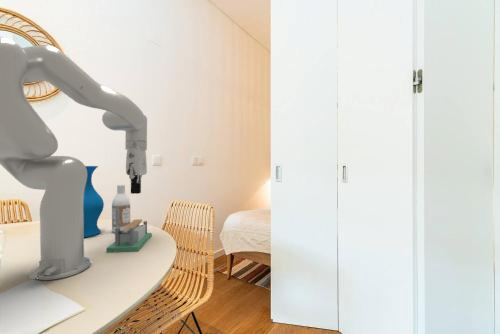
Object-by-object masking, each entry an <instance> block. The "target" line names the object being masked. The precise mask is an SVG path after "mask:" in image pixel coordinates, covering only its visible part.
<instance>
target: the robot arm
mask: <svg viewBox="0 0 500 334" xmlns="http://www.w3.org/2000/svg"><path fill="white" fill-rule="evenodd" d="M38 82H47V83H48V84H50V85H51V86H53V87H54V88H56V89H57V90H59V91H60V92H62V93H63V94H64V95H66V97H68V98H69V99H72V100H73V101H74V102H76V103H77V104H79V105H82V106H85V107H88V108H92V109H97V110H101V111H102V110H103V111H105V112H103V114H102V119H101V120H102V124H103V125H104V127H106V128H107V129H109V130H112V131H124V132H125V142H124V143H125V147H124V148H125V150H126V157H125V159H126V160H125V172H126V173H125V174H126V175H128V176H129V180H130V194H133V195H134V194H136V195H138V194H141V193H142V177H143V176H145V175H147V173H148V165H147V152H146V151H147V150H148V117H147V116H146V115H145V114H144V112H143V111H142V110H141V108H140V107H138V105H137V104H136V103H135V102H133V101H132V99H130V98H129V97H127V96H126V95H124V94H122V93H120V92H118V91H116V90H114V89H111V88H110V87H107V86H105V85H103V84H101V83H99V82H98V81H96V80H94V78H93V77H91V76H90V75H89V73H87V72H85V71H84V70H83V68H81V67H80V66H79V65H78V64H77V63H75V61H73V60H72V59H71V58H70V57H69V56H67V55H66V54H65V53H64V52H63V51H61V50H60V49H59V48H57V47H55V46H52V45H51V44H50V45H49V44H38V45H31V46H25V47H22V46H21V45H20V44H19V43H17V42H16V41H14V40H12V39H10V38H8V37H4V36H0V166H2V168H4V169H5V170H6V171H7V173H9V174H10V175H11V176H12V177H13V178H14V179H16V180H17V181H18V182H19V183H20V184H22V185H23V186H24V187H26V188H29V189H32V190H41V191H44V193H43V196H42V197H41V198H42V199H41V201H40V204H39V205H40V206H39V218H40V219H39V226H40V227H39V229H40V230H39V231H40V232H39V233H40V235H39V236H40V260H39V261H38V266H37V267H36V268H35V269H33V270H32V271H30V272H29V273H28V277H29V279H30V280H35V278H38V279H39V280H38V279H37V280H38V281H51V280H52V281H53V280H58V279H59V280H60V279H65V278H67V277H68V278H69V277H71V276H74V275H77V274H80V273H81V272H84V271H85V270H87V269H88V268H89V267H90V266H91V264H92V263H91V259H90V258H89V257H85V237H84V212H83V200H84V190H85V185H86V181H87V169H86V167H85V166H86V165H85V164H84V162H83V161H81V160H80V159H78V158H75V157H74V156H68V155H67V156H66V155H54V154H55V153H56V152H57V150H58V148H59V142H58V139H57V137H56V136H55V134H54V133H53V131H52V130H51V128H50V127H49V126H48V125H47V124H46V122H45V121H44V120H43V119H42V117H40V115H39V114H38V112H37V111H36V110H35V109H34V107H33V106H32V104H31V103H30V102H29V101H28V98H27V97H26V94H25V90H24V84H25V83H38Z"/></svg>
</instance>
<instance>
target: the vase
mask: <svg viewBox="0 0 500 334" xmlns="http://www.w3.org/2000/svg"><path fill="white" fill-rule="evenodd" d="M85 167H86V169H87V181H86V185H85V190H84V200H83V212H84V238H89V237H90V238H91V237H94V236H97V235H100V233H101V232H102V231H101V229H100V228H99V227H98V221H99V218H100V217H101V214H102V213H103V210H104V207H105V205H104V204H105V203H104V200H103V198H102V196H101V195H100V193H99V192H97V190H96V189H95V188H94V186H93V183H92V178H93V174H94V172H95V170H96V169H97V168H99V166H98V165H85Z"/></svg>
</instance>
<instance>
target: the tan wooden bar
mask: <svg viewBox="0 0 500 334" xmlns="http://www.w3.org/2000/svg"><path fill="white" fill-rule="evenodd" d="M142 222H143V219H133V220H132V221H130V223H129V224H128V225H127V226H126V227H125V228H123V229H122V230H121V231H119V234H129V228H131V227H134V229H135V228H136V227H137V226H138V225H141V223H142Z"/></svg>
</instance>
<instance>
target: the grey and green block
mask: <svg viewBox="0 0 500 334" xmlns="http://www.w3.org/2000/svg"><path fill="white" fill-rule="evenodd" d="M142 222H143V224H139V225H138V226H137V227H136V228H135V229H134V227H131V228H129V234H119V231H121V230H122V229H123V228H125V227H126V226H127V225H126V226H125V227H123V228H122V229H120V227H118V228H116V229H115V233H114V241H113V242H112V243H111V244H110V245H109V246H107V247H106V253H129V252H131V253H133V252H140V250H141V249H142V248H143V247H144V245H145V244H147V242H148V241H149V240H150V239H151V238H152V237H153V235H152V232H148V221H147V220H144V221H142Z"/></svg>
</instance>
